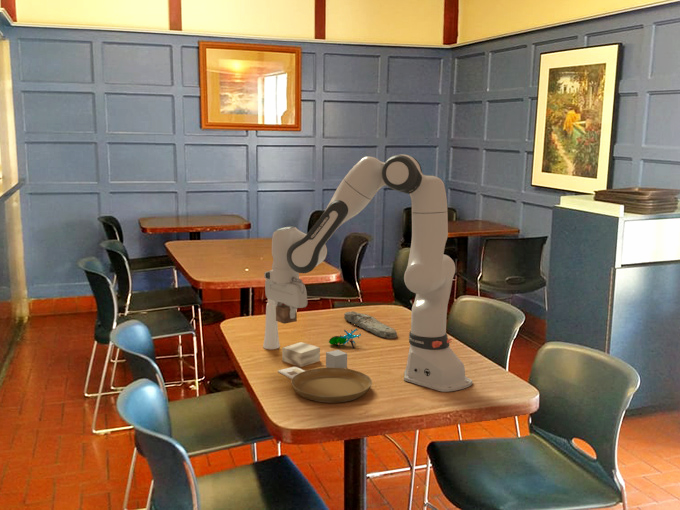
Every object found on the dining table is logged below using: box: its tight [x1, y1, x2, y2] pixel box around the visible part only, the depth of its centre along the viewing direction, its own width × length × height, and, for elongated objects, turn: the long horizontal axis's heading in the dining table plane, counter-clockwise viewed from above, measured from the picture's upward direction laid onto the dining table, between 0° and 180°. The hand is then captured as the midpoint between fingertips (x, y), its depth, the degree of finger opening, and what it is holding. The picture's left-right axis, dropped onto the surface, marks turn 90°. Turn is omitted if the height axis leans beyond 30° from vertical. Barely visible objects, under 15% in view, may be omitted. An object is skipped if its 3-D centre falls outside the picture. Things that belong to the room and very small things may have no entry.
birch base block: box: [281, 341, 321, 368], centre depth 230 cm, size 9×9×5 cm
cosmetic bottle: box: [262, 298, 281, 350], centre depth 243 cm, size 6×6×22 cm
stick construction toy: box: [328, 328, 362, 350], centre depth 247 cm, size 12×7×8 cm
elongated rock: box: [343, 310, 398, 339], centre depth 273 cm, size 35×5×10 cm
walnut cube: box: [276, 304, 298, 325], centre depth 226 cm, size 5×5×5 cm
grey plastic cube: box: [325, 349, 348, 369], centre depth 224 cm, size 5×5×5 cm
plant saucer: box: [291, 367, 373, 404], centre depth 204 cm, size 24×24×3 cm
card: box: [277, 365, 305, 380], centre depth 217 cm, size 10×7×1 cm
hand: (286, 316), depth 226 cm, fingers closed on walnut cube, 5 cm apart
